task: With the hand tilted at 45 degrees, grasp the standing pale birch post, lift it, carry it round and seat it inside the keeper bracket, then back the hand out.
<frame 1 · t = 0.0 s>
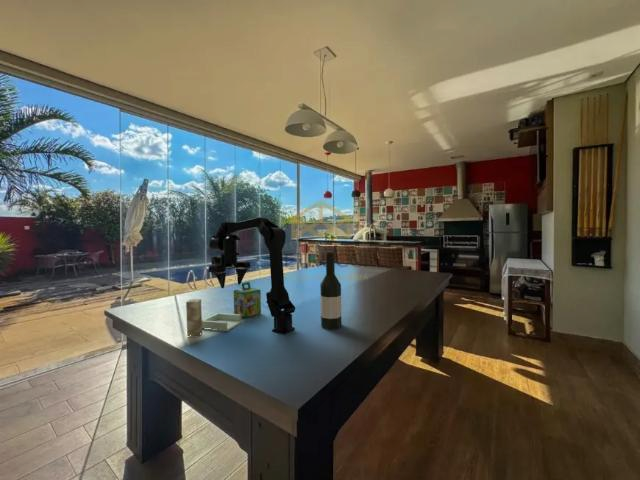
hand: (231, 286, 121), 15 cm above the table, tool pointing down, fingers open, 9 cm apart
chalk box: (247, 314, 129), on the table
post: (194, 334, 104), on the table
wine bottle: (331, 326, 111), on the table
keeper: (221, 324, 114), on the table
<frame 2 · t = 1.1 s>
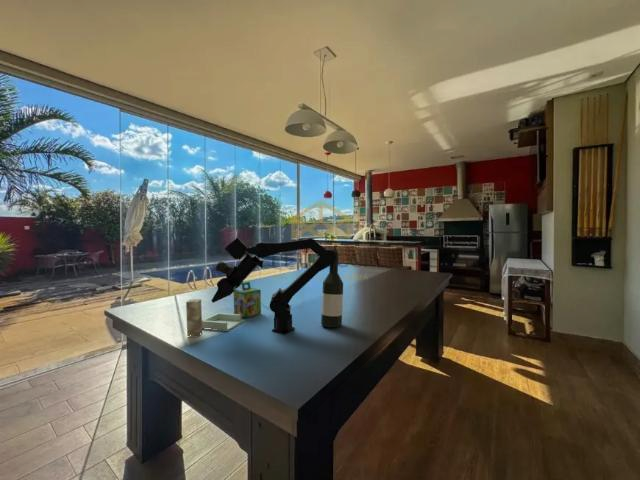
hand: (215, 298, 104), 13 cm above the table, tool tilted 45°, fingers open, 9 cm apart
wine bottle: (331, 325, 111), on the table, touching arm
everything else where it was.
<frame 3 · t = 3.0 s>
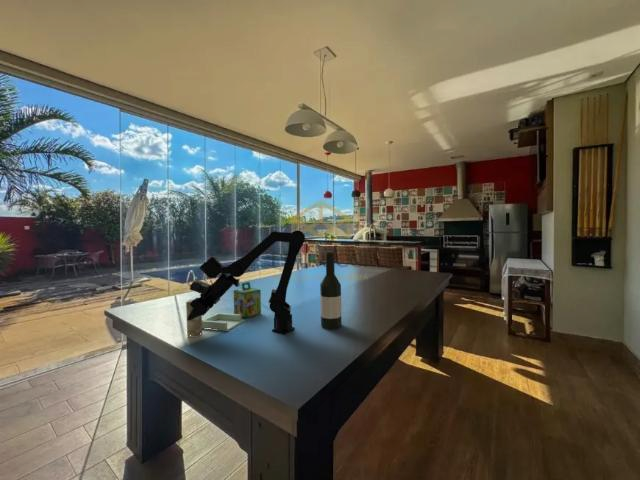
hand: (190, 317, 103), 7 cm above the table, tool tilted 45°, fingers closed on post, 4 cm apart
post: (194, 334, 104), on the table, touching gripper
wine bottle: (331, 326, 111), on the table
everything else where it was.
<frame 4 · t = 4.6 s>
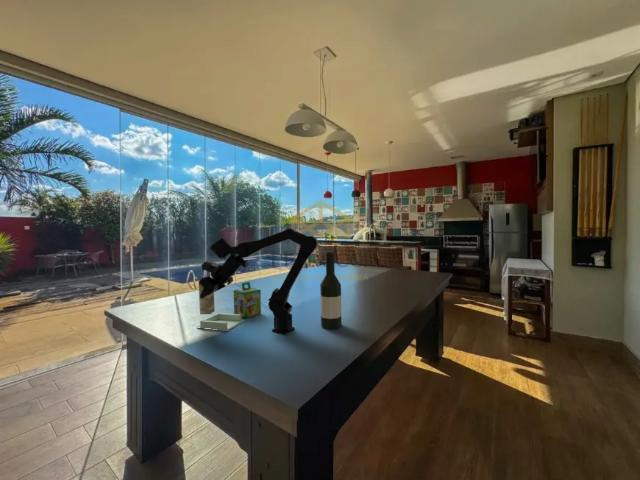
hand: (203, 296, 109), 13 cm above the table, tool tilted 45°, fingers closed on post, 4 cm apart
post: (207, 312, 109), point 7 cm above the table, touching gripper
everything else where it was.
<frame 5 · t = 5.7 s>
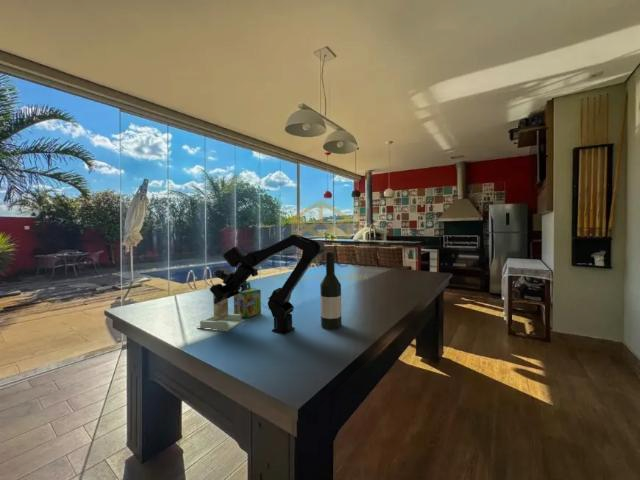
hand: (217, 301, 114), 10 cm above the table, tool tilted 45°, fingers closed on post, 4 cm apart
post: (221, 317, 114), point 3 cm above the table, touching gripper
everything else where it was.
when the fingers open (8 cm above the table, at t = 6.3 s): post stays where it is, resting on keeper.
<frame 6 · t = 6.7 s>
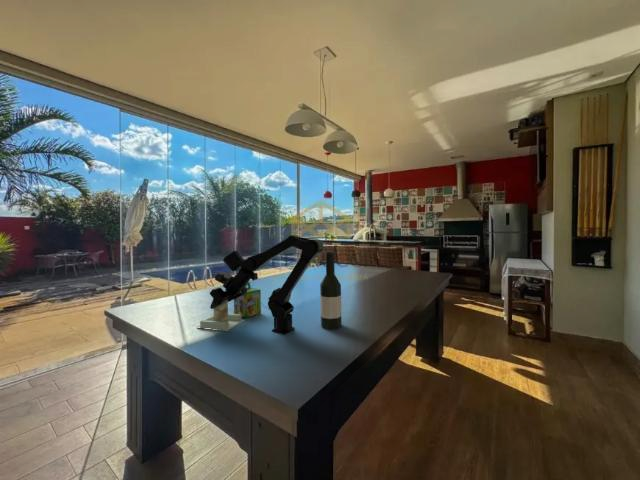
hand: (217, 305, 114), 8 cm above the table, tool tilted 45°, fingers open, 8 cm apart
post: (221, 323, 114), point 1 cm above the table, touching keeper
everything else where it was.
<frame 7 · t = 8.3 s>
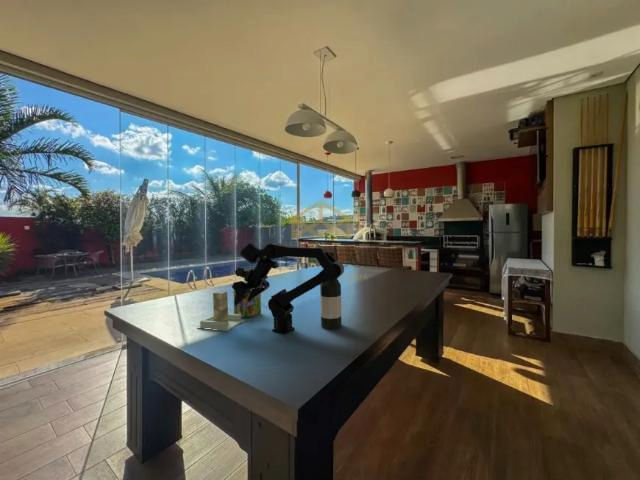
hand: (241, 302, 111), 10 cm above the table, tool tilted 35°, fingers open, 9 cm apart
nothing on the table moved.
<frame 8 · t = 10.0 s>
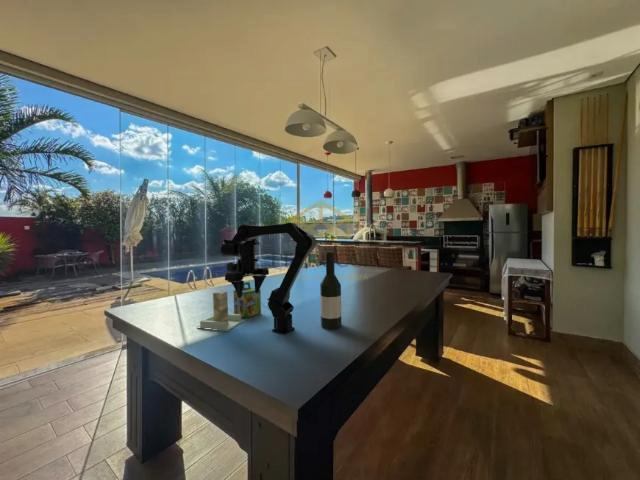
hand: (248, 295, 110), 13 cm above the table, tool pointing down, fingers open, 9 cm apart
nothing on the table moved.
at the end: post inside the target area on the keeper (0.2 cm from its centre), point 0.6 cm above the keeper's base; post tilted 0°; the gripper is holding nothing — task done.
